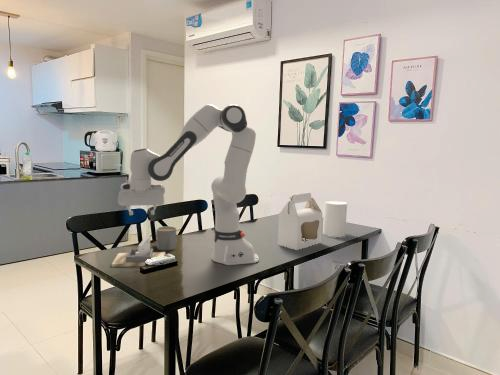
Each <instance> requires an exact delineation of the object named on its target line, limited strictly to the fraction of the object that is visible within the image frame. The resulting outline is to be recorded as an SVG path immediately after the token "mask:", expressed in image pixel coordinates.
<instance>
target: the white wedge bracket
mask: <svg viewBox="0 0 500 375" xmlns="http://www.w3.org/2000/svg"><path fill="white" fill-rule="evenodd" d="M137 249H138V252H135V256H149V254H150V249H151V235H146V236H145V237H144V238H143V239H142V240H141V242H140V243H139V244H138V246H137Z"/></svg>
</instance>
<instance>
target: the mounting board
mask: <svg viewBox="0 0 500 375" xmlns="http://www.w3.org/2000/svg"><path fill="white" fill-rule="evenodd" d="M127 254H128V252H118V253H117V254H116V256H115V258H114V259H113V261H112V263H111V267H112V268H116V267H117V268H120V267H123V268H124V267H146V266H145V262H126V256H127ZM162 255H165V256H166V251H155V252H154V251H153V255H152V258H153V257H158V256H162ZM131 256H135V255H131Z"/></svg>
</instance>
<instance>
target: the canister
mask: <svg viewBox="0 0 500 375" xmlns="http://www.w3.org/2000/svg"><path fill="white" fill-rule="evenodd" d="M323 203H324V204H323V217H322V222H323V223H322V235H323V234H325V235H328V236H335V237H334V238H336V237H339V238H342V237H341V236H344V237H346V228H347V226H346V225H347V212H348V202H347V201H341V200H325V201H324V202H323ZM325 235H324V236H325ZM328 236H327V237H328Z"/></svg>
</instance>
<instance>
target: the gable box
mask: <svg viewBox="0 0 500 375" xmlns="http://www.w3.org/2000/svg"><path fill="white" fill-rule="evenodd" d="M301 203H305V205H304V208H301V209H296V204H301ZM322 222H323V212H322V210H321V209H320V207H319V205H318V203H317V202H316V200H315V199H314V197H312V193H311V192H308V193H302V194H301V193H299V194H294V195H292V196H290V197H289V201H287V203H286V204H285V206H284V207H283V208H282V209H281V211H280V212H279V213H278V230H277V245H278V246H280V247H283V246H284V247H283V248H286V247H287V249H290V250H293V249H294V251H299V249H300V250H303V249H306V248H309V246H310V247H312V245H313V246H315V244H316V245H319V244H321V243H322V242H321V240H322V228H323V223H322ZM302 238H305V241H304V240H303V239H302ZM301 239H302V240H301ZM306 239H309V240H306ZM318 243H319V244H318ZM302 248H303V249H302Z"/></svg>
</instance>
